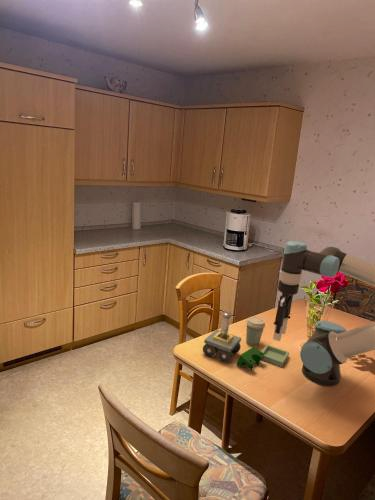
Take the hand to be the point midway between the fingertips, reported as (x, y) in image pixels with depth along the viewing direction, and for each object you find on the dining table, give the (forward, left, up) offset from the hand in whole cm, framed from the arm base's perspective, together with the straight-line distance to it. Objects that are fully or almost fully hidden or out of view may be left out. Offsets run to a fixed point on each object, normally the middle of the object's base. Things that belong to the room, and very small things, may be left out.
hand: (279, 336), depth 147 cm
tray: (+3, -12, -17) cm, 21 cm away
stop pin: (+23, 0, -9) cm, 25 cm away
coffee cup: (+15, -18, -17) cm, 29 cm away
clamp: (+10, 0, -17) cm, 20 cm away
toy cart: (+23, 0, -17) cm, 29 cm away
